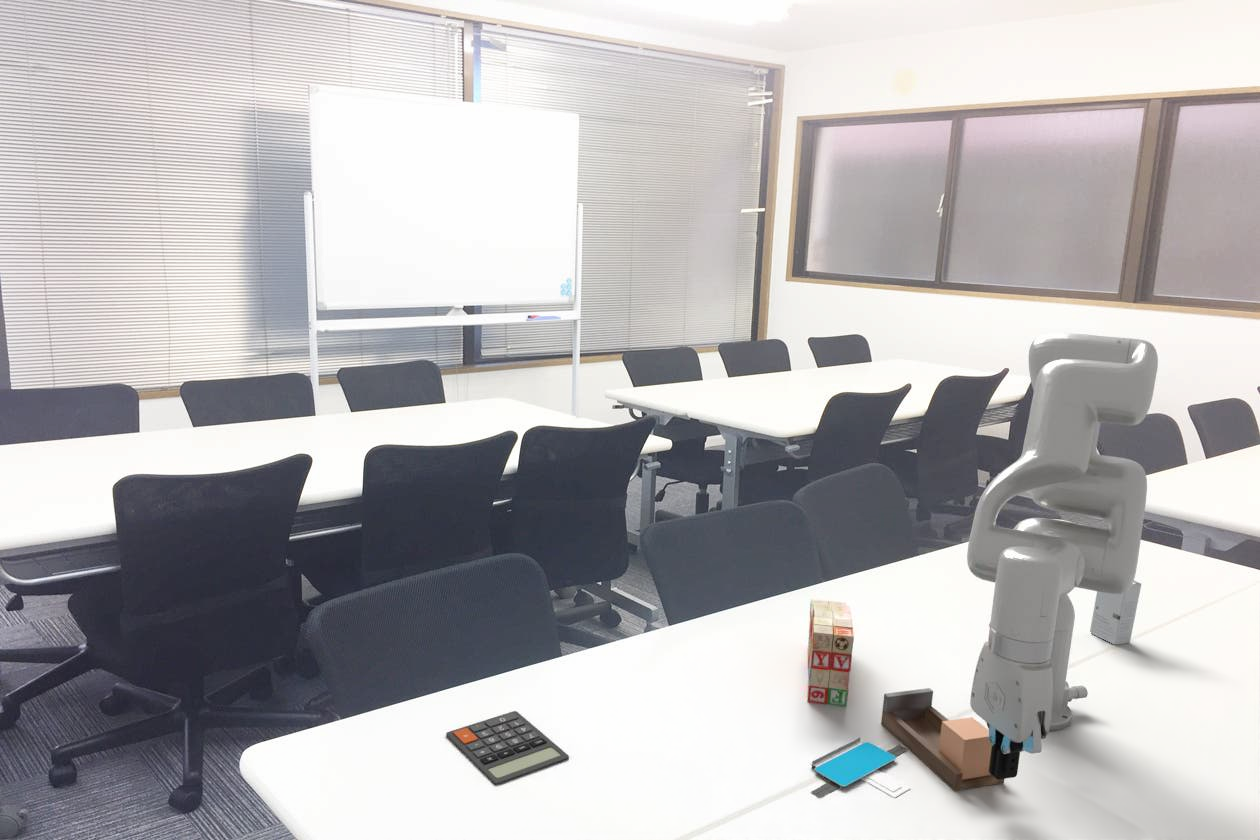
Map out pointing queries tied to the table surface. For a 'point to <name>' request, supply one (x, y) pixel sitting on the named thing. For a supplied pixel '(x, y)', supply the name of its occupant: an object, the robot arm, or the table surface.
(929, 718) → the chute
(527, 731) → the calculator
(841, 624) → the stack of blocks
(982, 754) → the block
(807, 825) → the table surface
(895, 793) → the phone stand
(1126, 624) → the skincare box
